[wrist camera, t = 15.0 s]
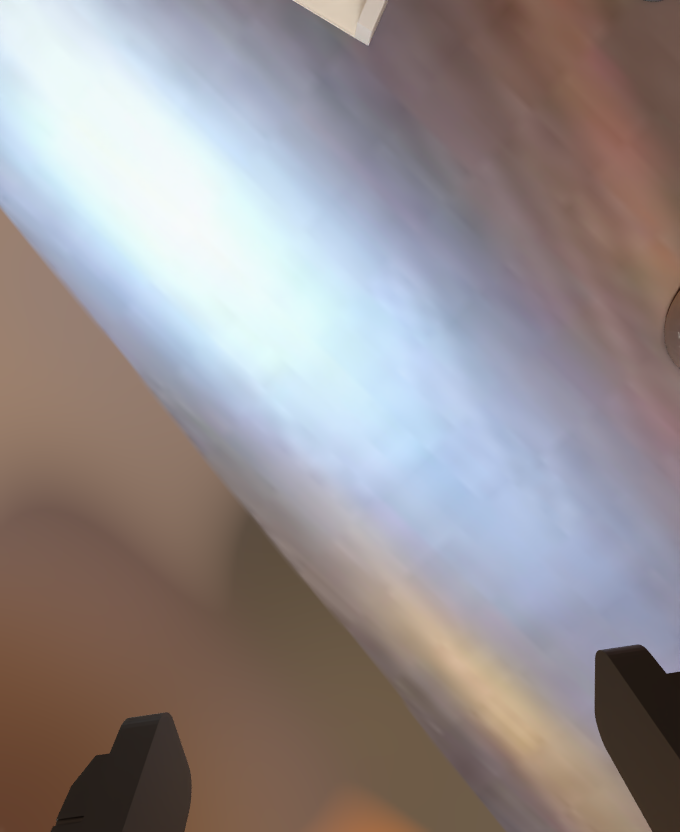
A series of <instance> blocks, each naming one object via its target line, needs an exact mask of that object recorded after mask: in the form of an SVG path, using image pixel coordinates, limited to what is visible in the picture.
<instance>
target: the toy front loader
mask: <svg viewBox="0 0 680 832" xmlns="http://www.w3.org/2000/svg"><path fill="white" fill-rule="evenodd" d="M293 1H295V2H296V3H298V4H300V5H301V6H303V7H304V8H306V9H308V10H309V11H311V12H313V13H314V14H316V15H318V16H319V17H321V18H323V19H324V20H326V21H328V22H329V23H331V24H333V25H334V26H336V27H338V28H339V29H341V30H343V31H344V32H346V33H348V34H349V35H351V36H353V37H354V38H356V39H358V40H359V41H361V42H363V43H364V44H366V45H367V46H369V43H370V41H371V39H372V37H373V34H374V32H375V30H376V28H377V25H378V23H379V21H380V18H381V16H382V14H383V12H384V9H385V7H386V5H387V2H388V0H293Z"/></svg>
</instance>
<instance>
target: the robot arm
mask: <svg viewBox="0 0 680 832" xmlns="http://www.w3.org/2000/svg"><path fill="white" fill-rule="evenodd" d="M664 334H665V344H666V347H667V351H668V354H669V355H670V357H671V359H672V360H673V362H674V363H675V364H676V365H677V366H678V367H679V368H680V291H679V292H678V293H677V295H676V297H675V299H674V300H673V302H672V304H671V306H670V309H669V311H668V314H667V317H666V323H665V329H664ZM595 718H596V723H597V727H598V730H599V733H600V736H601V739H602V741H603V743H604V746H605V748H606V750H607V752H608V753H609V755H610V757H611V759H612V761H613V762H614V764H615V766H616V768H617V769H618V771H619V773H620V775H621V777H622V778H623V780H624V782H625V784H626V786H627V787H628V789H629V791H630V793H631V794H632V796H633V798H634V800H635V802H636V803H637V805H638V807H639V809H640V810H641V812H642V814H643V816H644V818H645V819H646V821H647V823H648V825H649V826H650V828H651V830H652V832H680V672H675V673H668V674H666V673H665V671H664V670H663V669H662V668H661V666H660V665H659V664H658V663H657V661H656V660H655V659H654V658H653V656H652V655H651V654H650V653H649V651H648V650H647V649H646V648H645V647H643V646H642V645H631V646H625V647H618V648H611V649H604V650H598V651H597V653H596V656H595ZM190 802H191V774H190V769H189V766H188V762H187V760H186V757H185V754H184V751H183V748H182V745H181V742H180V739H179V736H178V733H177V730H176V727H175V724H174V721H173V719H172V716H171V715H170V714H169V713H167V712H166V713H160V714H152V715H146V716H139V717H132V718H127V719H126V720H125V721H124V722H123V724H122V725H121V728H120V730H119V732H118V734H117V737H116V740H115V742H114V744H113V747H112V749H111V752H110V754H103V755H97V756H95V757H94V759H93V760H92V761H91V762H90V764H89V765H88V766H87V767H86V768H85V770H84V771H83V772H82V773H81V775H80V776H79V777H78V778H77V780H76V781H75V782H74V783H73V785H72V786H71V788H70V790H69V793H68V795H67V797H66V799H65V802H64V804H63V806H62V808H61V811H60V812H59V815H58V817H57V819H56V821H57V822H56V826H54V827H53V828H52V830H51V832H184V831H185V826H186V822H187V817H188V813H189V809H190Z"/></svg>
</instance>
